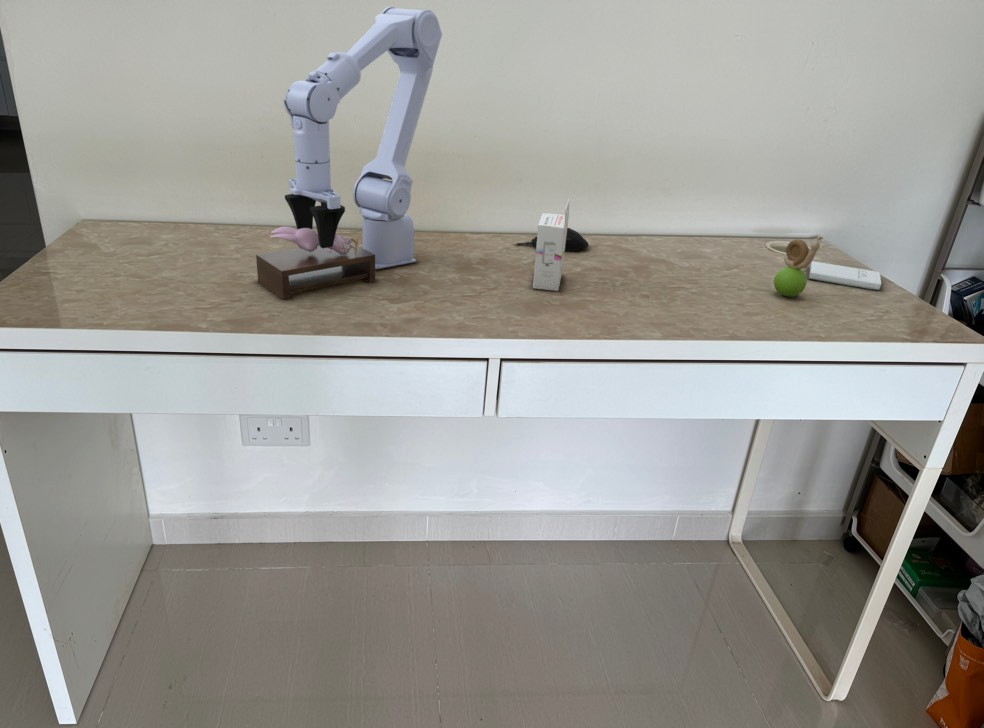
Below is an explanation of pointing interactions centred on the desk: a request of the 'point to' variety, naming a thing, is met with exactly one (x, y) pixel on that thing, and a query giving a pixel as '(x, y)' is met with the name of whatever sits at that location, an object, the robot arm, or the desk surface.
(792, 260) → the snail figurine
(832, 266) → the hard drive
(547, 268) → the ink cartridge box
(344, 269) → the rack
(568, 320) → the desk surface
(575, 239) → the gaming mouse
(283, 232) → the rabbit figure
